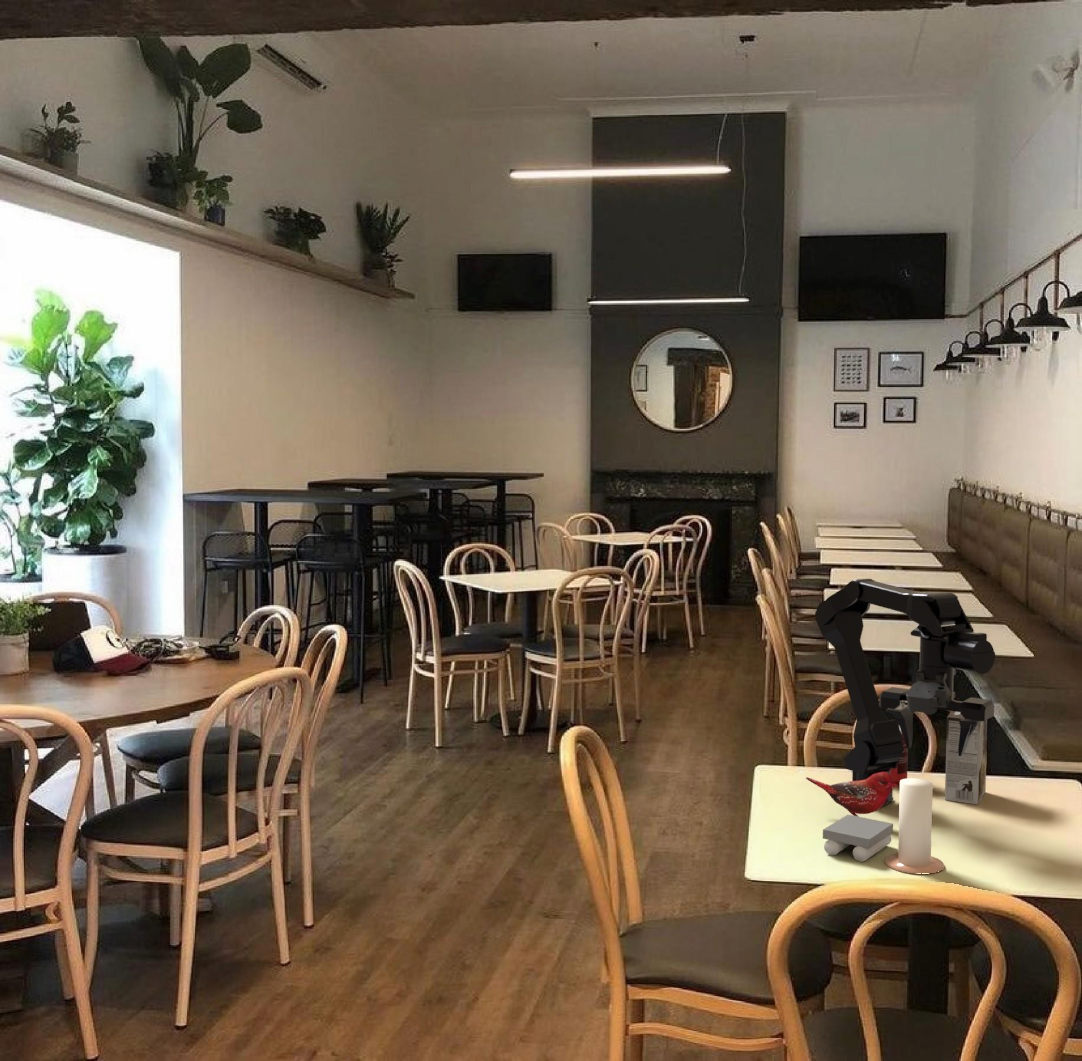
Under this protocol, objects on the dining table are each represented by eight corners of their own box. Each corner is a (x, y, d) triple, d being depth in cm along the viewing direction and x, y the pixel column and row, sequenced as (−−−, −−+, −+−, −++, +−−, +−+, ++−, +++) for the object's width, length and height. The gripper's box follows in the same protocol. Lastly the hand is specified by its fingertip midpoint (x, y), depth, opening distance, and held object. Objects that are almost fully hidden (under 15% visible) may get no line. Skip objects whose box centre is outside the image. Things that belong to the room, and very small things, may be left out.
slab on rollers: (822, 853, 201) (822, 829, 201) (847, 837, 209) (847, 814, 209) (868, 863, 197) (869, 839, 196) (892, 846, 204) (893, 823, 204)
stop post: (891, 860, 197) (893, 781, 196) (911, 854, 200) (913, 776, 199) (917, 869, 193) (919, 788, 192) (937, 863, 196) (939, 783, 194)
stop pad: (876, 866, 195) (876, 863, 195) (897, 851, 202) (898, 848, 202) (932, 878, 190) (932, 876, 190) (952, 862, 197) (952, 860, 197)
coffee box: (951, 787, 238) (953, 706, 237) (986, 792, 235) (988, 709, 234) (943, 800, 230) (945, 716, 229) (979, 805, 227) (981, 719, 226)
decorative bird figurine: (893, 832, 212) (894, 776, 211) (801, 812, 223) (802, 758, 222) (900, 828, 214) (901, 772, 213) (808, 808, 225) (809, 755, 225)
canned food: (860, 775, 247) (861, 722, 246) (898, 774, 248) (899, 721, 247) (873, 786, 239) (874, 731, 238) (913, 785, 240) (914, 730, 239)
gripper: (867, 665, 214) (865, 752, 215) (975, 678, 202) (972, 770, 203) (891, 655, 222) (890, 740, 224) (996, 667, 211) (993, 756, 212)
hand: (934, 751), depth 215 cm, fingers open, 9 cm apart
